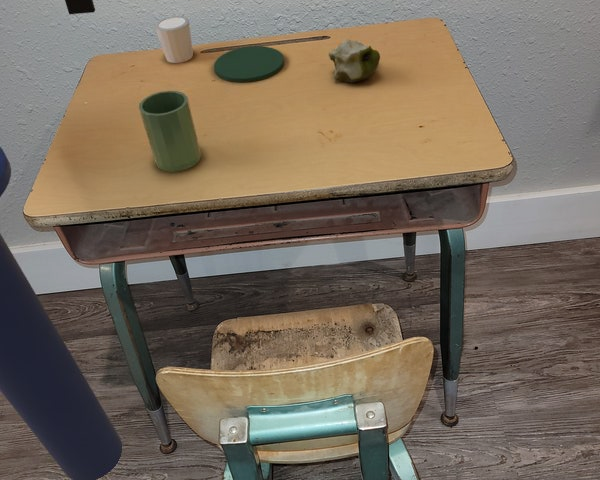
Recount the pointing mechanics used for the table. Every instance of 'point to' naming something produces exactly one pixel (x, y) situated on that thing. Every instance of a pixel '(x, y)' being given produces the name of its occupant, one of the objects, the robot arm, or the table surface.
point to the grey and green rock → (354, 61)
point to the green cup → (170, 130)
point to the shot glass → (175, 38)
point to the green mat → (249, 64)
